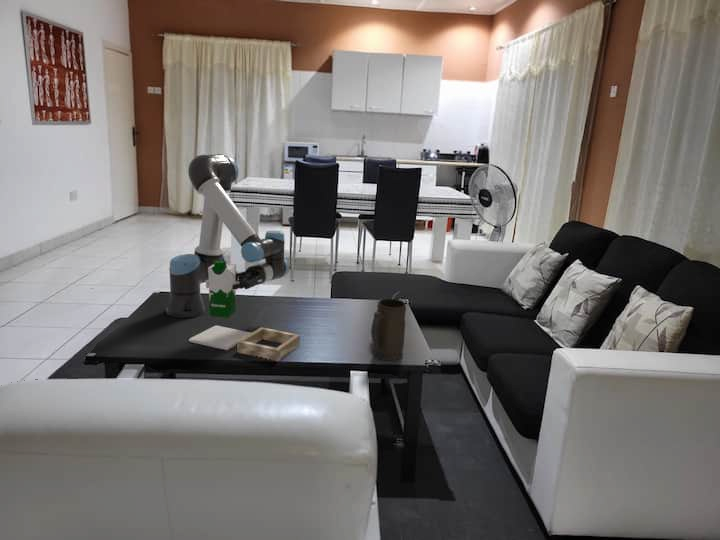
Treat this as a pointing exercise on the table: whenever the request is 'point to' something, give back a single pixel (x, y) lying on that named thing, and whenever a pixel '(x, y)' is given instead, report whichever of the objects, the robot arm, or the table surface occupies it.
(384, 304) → the beer stein
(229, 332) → the tile
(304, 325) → the table surface
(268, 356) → the wooden square tray
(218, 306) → the soya milk
